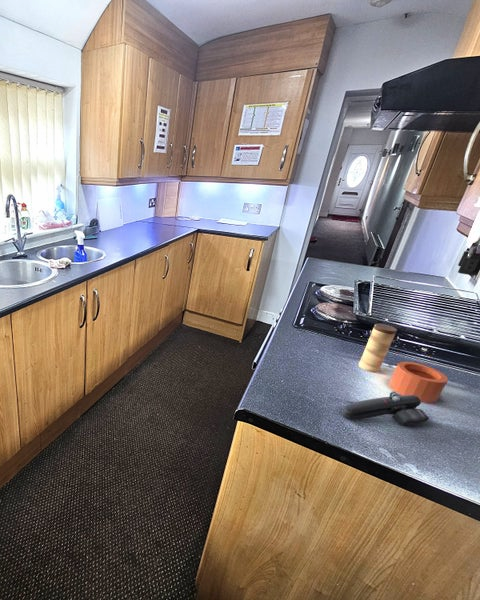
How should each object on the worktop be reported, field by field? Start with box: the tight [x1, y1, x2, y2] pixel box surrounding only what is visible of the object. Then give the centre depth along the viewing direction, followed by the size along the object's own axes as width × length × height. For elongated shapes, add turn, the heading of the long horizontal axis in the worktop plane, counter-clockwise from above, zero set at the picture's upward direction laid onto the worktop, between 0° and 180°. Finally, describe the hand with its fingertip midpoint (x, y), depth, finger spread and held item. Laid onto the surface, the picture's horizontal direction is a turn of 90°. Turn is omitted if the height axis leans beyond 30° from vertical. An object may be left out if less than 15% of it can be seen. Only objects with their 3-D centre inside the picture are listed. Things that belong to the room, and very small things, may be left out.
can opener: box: [341, 390, 429, 426], centre depth 75 cm, size 18×7×6 cm, turn 91°
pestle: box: [358, 323, 398, 373], centre depth 92 cm, size 5×5×14 cm
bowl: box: [388, 361, 449, 404], centre depth 83 cm, size 9×9×7 cm
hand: (466, 270), depth 84 cm, fingers open, 9 cm apart
